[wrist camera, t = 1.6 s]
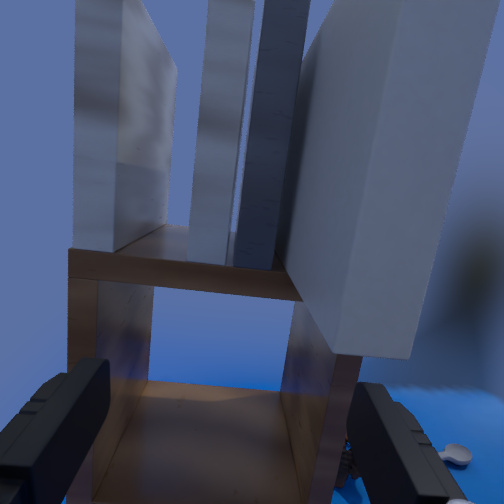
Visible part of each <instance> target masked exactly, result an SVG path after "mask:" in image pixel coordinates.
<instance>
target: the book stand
mask: <svg viewBox="0 0 504 504" xmlns="http://www.w3.org/2000/svg"><path fill="white" fill-rule="evenodd" d="M310 1H311V0H265V1H264V8H263V14H262V21H261V28H260V35H259V42H258V49H257V56H256V63H255V70H254V76H253V84H252V94H251V101H250V110H249V118H248V127H247V135H246V144H245V152H244V161H243V169H242V178H241V186H240V195H239V203H238V212H237V220H236V230H235V232H231V223H232V215H233V206H234V197H235V188H236V180H237V170H238V162H239V154H240V145H241V136H242V128H243V119H244V110H245V101H246V93H247V84H248V73H249V62H250V52H251V41H252V30H253V20H254V9H255V1H254V0H209V3H208V15H207V26H206V38H205V49H204V61H203V72H202V84H201V95H200V107H199V119H198V130H197V142H196V153H195V164H194V176H193V187H192V199H191V210H190V221H189V227H187V226H179V225H170V224H166V223H167V209H168V196H169V182H170V167H171V154H172V140H173V126H174V113H175V99H176V85H177V68H176V66H175V64H174V62H173V60H172V58H171V56H170V54H169V52H168V50H167V48H166V47H165V45H164V43H163V41H162V39H161V37H160V35H159V33H158V31H157V30H156V28H155V25H154V24H153V22H152V20H151V18H150V16H149V15H148V12H147V11H146V8H145V7H144V5H143V3H142V1H141V0H75V72H74V73H75V74H74V75H75V76H74V77H75V78H74V165H73V166H74V167H73V247H72V248H69V249H68V338H67V341H68V343H67V344H68V345H67V373H69V372H70V371H71V370H72V369H73V367H74V366H75V365H76V364H77V362H78V361H79V360H80V359H81V358H83V357H90V358H101V359H108V360H109V361H110V384H111V401H110V407H109V411H108V414H107V417H106V419H105V421H104V423H103V425H102V427H101V429H100V431H99V433H98V435H97V437H96V438H95V440H94V442H93V444H92V446H91V448H90V450H89V452H88V454H87V456H86V457H85V459H84V461H83V463H82V465H81V467H80V469H79V471H78V473H77V474H76V476H75V478H74V480H73V482H72V484H71V486H70V488H69V490H68V491H67V493H66V504H331V499H332V495H333V490H334V486H335V481H336V477H337V472H338V468H339V463H340V458H341V454H342V449H343V445H344V440H345V436H346V421H347V416H348V412H349V408H350V404H351V400H352V397H353V393H354V389H355V386H356V384H357V381H358V377H359V372H360V367H361V363H362V358H363V356H354V355H343V354H335V353H333V352H332V351H331V349H330V348H329V346H328V344H327V342H326V341H325V339H324V337H323V335H322V333H321V332H320V330H319V328H318V326H317V325H316V323H315V321H314V319H313V317H312V316H311V314H310V312H309V310H308V308H307V307H306V305H305V303H304V301H303V300H302V298H301V296H300V294H299V292H298V291H297V289H296V287H295V285H294V284H293V282H292V280H291V278H290V276H289V275H288V273H287V271H286V269H285V267H284V266H283V264H282V262H281V260H280V259H279V257H278V255H277V253H276V251H275V250H274V249H275V242H276V235H277V228H278V222H279V215H280V208H281V201H282V194H283V187H284V180H285V173H286V167H287V160H288V153H289V146H290V139H291V132H292V125H293V118H294V111H295V105H296V98H297V91H298V84H299V77H300V70H301V63H302V56H303V49H304V42H305V36H306V29H307V22H308V15H309V8H310ZM154 286H158V287H168V288H177V289H186V290H196V291H205V292H214V293H224V294H233V295H242V296H252V297H262V298H271V299H281V300H290V301H295V304H294V310H293V316H292V322H291V328H290V334H289V341H288V346H287V352H286V359H285V365H284V371H283V377H282V383H281V389H280V392H279V391H268V390H256V389H245V388H233V387H221V386H210V385H198V384H186V383H174V382H163V381H151V380H148V371H149V370H148V369H149V356H150V341H151V325H152V310H153V296H154Z"/></svg>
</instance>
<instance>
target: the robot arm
mask: <svg viewBox="0 0 504 504" xmlns="http://www.w3.org/2000/svg"><path fill="white" fill-rule="evenodd" d="M110 401H111V384H110V361H109V360H108V359H101V358H90V357H83V358H81V359H80V360H79V361H78V362H77V364H76V365H75V366H74V367H73V369H72V370H71V371H70V372H69V373H60V374H58V375H56V376H55V377H53V378H52V379H50V380H48V381H47V382H45V383H44V384H43V385H42V386H41V387H40V388H39V389H38V390H37V391H36V393H35V394H34V395H33V396H32V397H31V398H30V401H28V402H27V403H26V404H25V405H24V406H23V408H21V410H20V412H19V414H16V415H15V416H14V418H13V419H12V420H11V421H10V422H9V423H8V424H7V426H6V427H5V428H4V429H3V430H2V431H1V432H0V504H61V503H62V501H63V499H64V497H65V495H66V493H67V491H68V490H69V488H70V486H71V484H72V482H73V480H74V478H75V476H76V474H77V473H78V471H79V469H80V467H81V465H82V463H83V461H84V459H85V457H86V456H87V454H88V452H89V450H90V448H91V446H92V444H93V442H94V440H95V438H96V437H97V435H98V433H99V431H100V429H101V427H102V425H103V423H104V421H105V419H106V417H107V414H108V411H109V407H110ZM346 431H347V437H348V441H349V444H350V446H351V449H352V452H353V455H354V458H355V460H356V463H357V466H358V469H359V472H360V475H361V477H362V480H363V483H364V486H365V489H366V491H367V494H368V497H369V500H370V503H371V504H475V503H472V502H470V501H468V500H467V498H466V497H465V495H464V493H463V492H462V490H461V489H460V487H459V486H458V484H457V482H456V481H455V479H454V478H453V476H452V475H451V473H450V471H449V470H448V468H447V467H446V465H445V464H444V462H443V460H442V459H441V457H440V456H439V454H438V453H437V451H436V450H435V448H434V447H432V443H431V442H430V440H429V439H428V437H427V435H426V434H424V431H423V429H422V428H421V426H420V424H419V423H418V421H417V420H416V418H415V417H414V415H413V414H412V413H410V412H409V411H408V410H407V409H406V408H405V407H404V406H403V405H402V404H401V403H400V402H393V400H392V398H391V397H390V395H389V393H388V391H387V390H386V388H385V387H384V385H382V384H379V383H367V382H358V383H357V384H356V386H355V389H354V393H353V397H352V400H351V404H350V408H349V412H348V416H347V421H346Z"/></svg>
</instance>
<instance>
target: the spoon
mask: <svg viewBox="0 0 504 504" xmlns="http://www.w3.org/2000/svg"><path fill="white" fill-rule="evenodd" d="M438 454H439V456H440V457H441V459H442V460H449V461H451V462H452V463H454V464H457V465H467V464H469V463H470V462H471V461H472V454H471V452H470V451H469V450H468V449H467V448H466V447H464V446H462V445H459V444H449V445H447V446H446V447H445V449H444V452H438Z"/></svg>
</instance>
